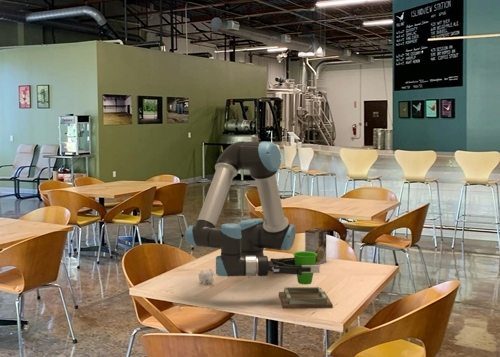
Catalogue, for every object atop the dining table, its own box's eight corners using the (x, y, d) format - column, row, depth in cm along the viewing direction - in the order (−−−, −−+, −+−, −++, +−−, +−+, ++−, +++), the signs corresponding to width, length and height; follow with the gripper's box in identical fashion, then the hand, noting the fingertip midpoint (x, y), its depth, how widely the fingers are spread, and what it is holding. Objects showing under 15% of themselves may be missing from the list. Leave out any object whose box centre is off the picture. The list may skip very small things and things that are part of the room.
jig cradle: (278, 294, 216) (278, 286, 216) (324, 294, 217) (324, 286, 217) (283, 308, 200) (283, 299, 200) (332, 307, 201) (332, 299, 201)
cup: (301, 287, 202) (301, 257, 201) (288, 281, 210) (288, 252, 209) (321, 284, 206) (322, 255, 205) (308, 278, 214) (308, 250, 213)
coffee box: (315, 260, 273) (316, 227, 271) (326, 262, 268) (327, 229, 267) (304, 263, 266) (304, 230, 265) (314, 265, 262) (315, 232, 260)
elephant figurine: (206, 287, 227) (206, 272, 226) (193, 283, 232) (193, 269, 231) (218, 283, 232) (218, 269, 231) (205, 280, 237) (205, 266, 236)
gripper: (255, 268, 218) (312, 268, 219) (259, 283, 196) (322, 283, 197) (255, 249, 217) (312, 249, 218) (259, 263, 195) (322, 262, 196)
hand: (316, 265), depth 208 cm, fingers closed on cup, 9 cm apart
